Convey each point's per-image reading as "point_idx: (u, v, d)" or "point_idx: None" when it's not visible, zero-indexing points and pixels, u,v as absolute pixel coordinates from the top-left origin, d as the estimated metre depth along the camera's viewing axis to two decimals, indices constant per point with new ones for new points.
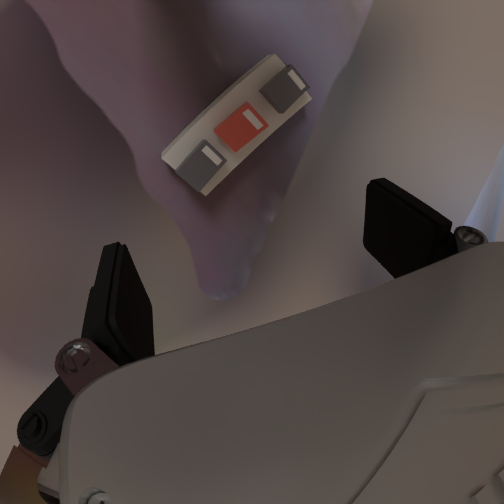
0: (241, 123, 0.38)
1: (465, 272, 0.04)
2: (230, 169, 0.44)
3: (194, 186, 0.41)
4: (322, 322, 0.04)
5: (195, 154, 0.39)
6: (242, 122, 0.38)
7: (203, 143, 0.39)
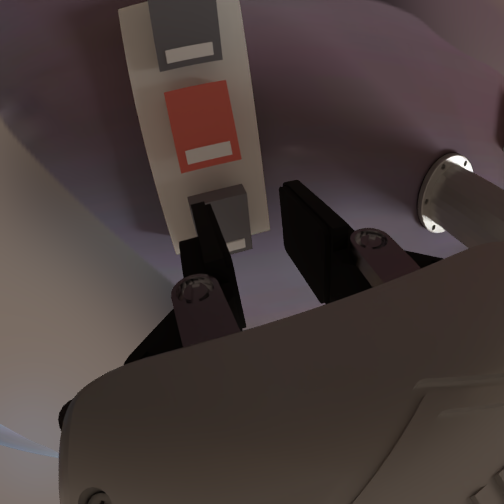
0: (211, 130, 0.20)
1: (465, 272, 0.04)
2: (132, 71, 0.18)
3: None
4: (322, 322, 0.04)
5: (213, 30, 0.16)
6: (213, 132, 0.20)
7: (219, 52, 0.17)
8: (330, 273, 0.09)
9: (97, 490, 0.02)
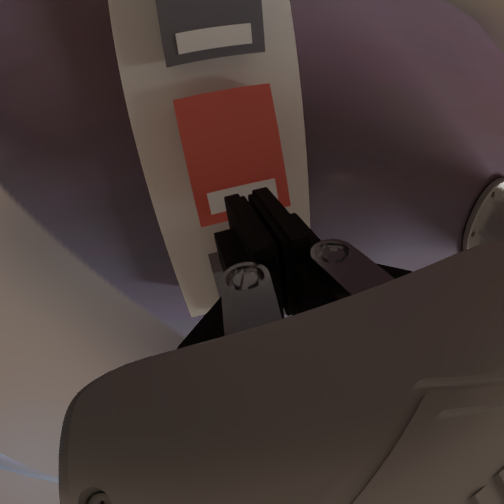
0: (248, 161, 0.13)
1: (465, 272, 0.04)
2: (124, 66, 0.12)
3: None
4: (322, 322, 0.04)
5: (253, 5, 0.10)
6: (249, 165, 0.14)
7: (261, 40, 0.11)
8: (293, 286, 0.09)
9: (97, 490, 0.02)
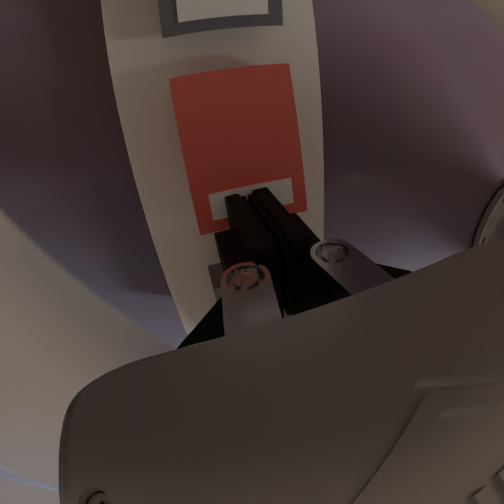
0: (259, 156, 0.11)
1: (465, 272, 0.04)
2: (112, 40, 0.09)
3: None
4: (322, 322, 0.04)
5: None
6: (261, 161, 0.11)
7: (278, 12, 0.08)
8: (293, 286, 0.09)
9: (97, 490, 0.02)
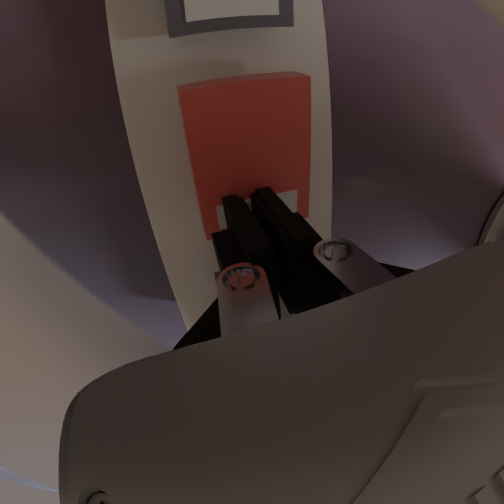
0: (269, 171, 0.11)
1: (465, 272, 0.04)
2: (117, 40, 0.09)
3: None
4: (322, 322, 0.04)
5: None
6: (270, 175, 0.11)
7: (289, 12, 0.08)
8: (296, 284, 0.09)
9: (97, 490, 0.02)
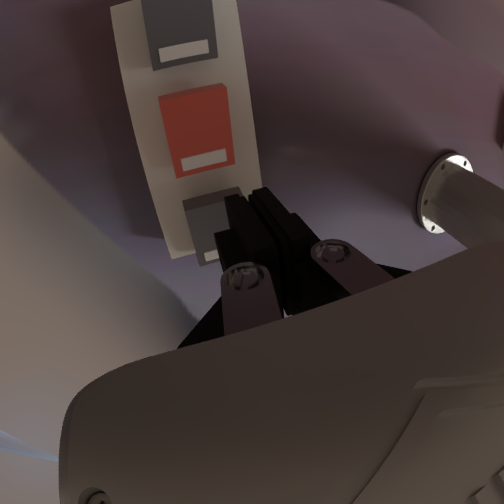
0: (208, 138, 0.20)
1: (465, 272, 0.04)
2: (124, 70, 0.17)
3: None
4: (322, 322, 0.04)
5: (208, 27, 0.15)
6: (209, 140, 0.20)
7: (215, 50, 0.17)
8: (293, 286, 0.09)
9: (97, 490, 0.02)
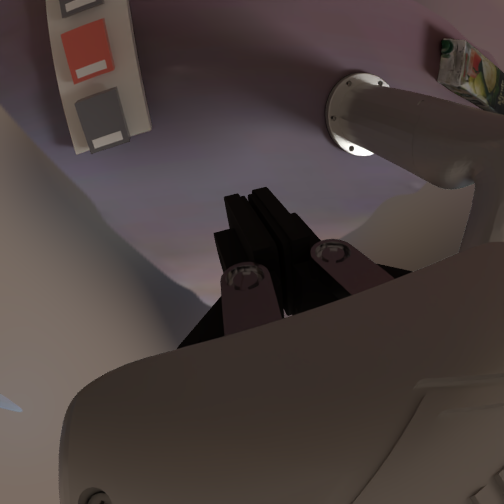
0: (92, 54, 0.21)
1: (465, 272, 0.04)
2: (50, 22, 0.19)
3: None
4: (322, 322, 0.04)
5: None
6: (93, 55, 0.22)
7: None
8: (293, 286, 0.09)
9: (97, 490, 0.02)
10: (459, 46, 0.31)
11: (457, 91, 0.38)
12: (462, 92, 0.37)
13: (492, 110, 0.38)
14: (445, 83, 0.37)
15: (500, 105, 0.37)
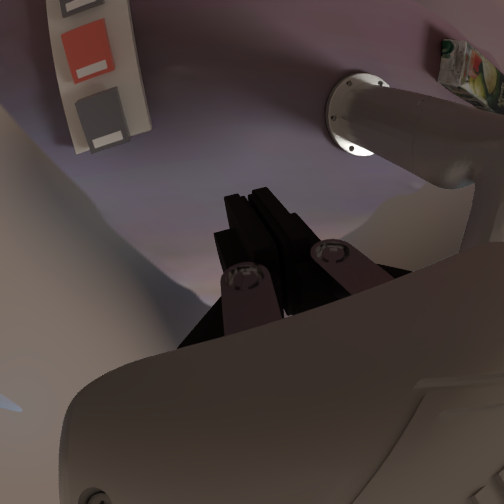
0: (93, 54, 0.22)
1: (465, 272, 0.04)
2: (50, 22, 0.19)
3: None
4: (322, 322, 0.04)
5: None
6: (94, 55, 0.22)
7: None
8: (293, 286, 0.09)
9: (97, 490, 0.02)
10: (459, 47, 0.31)
11: (457, 92, 0.38)
12: (462, 93, 0.37)
13: None
14: (445, 83, 0.37)
15: (500, 107, 0.37)
